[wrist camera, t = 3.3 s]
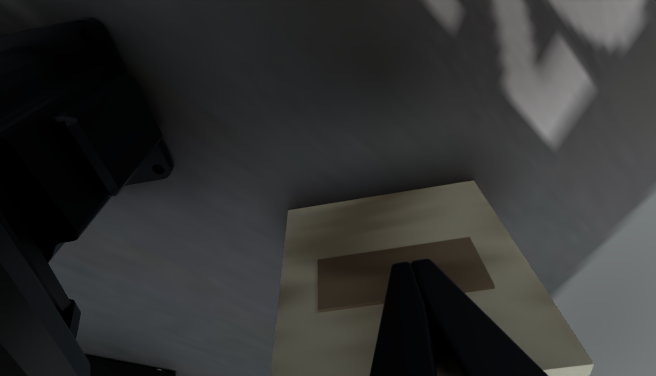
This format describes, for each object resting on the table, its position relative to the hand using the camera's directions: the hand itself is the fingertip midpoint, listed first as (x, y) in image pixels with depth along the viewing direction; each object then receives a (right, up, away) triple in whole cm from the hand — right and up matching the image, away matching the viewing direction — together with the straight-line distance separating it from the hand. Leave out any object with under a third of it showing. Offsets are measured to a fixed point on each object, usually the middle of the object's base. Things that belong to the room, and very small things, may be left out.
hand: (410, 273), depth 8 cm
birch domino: (+1, 0, +10) cm, 10 cm away
